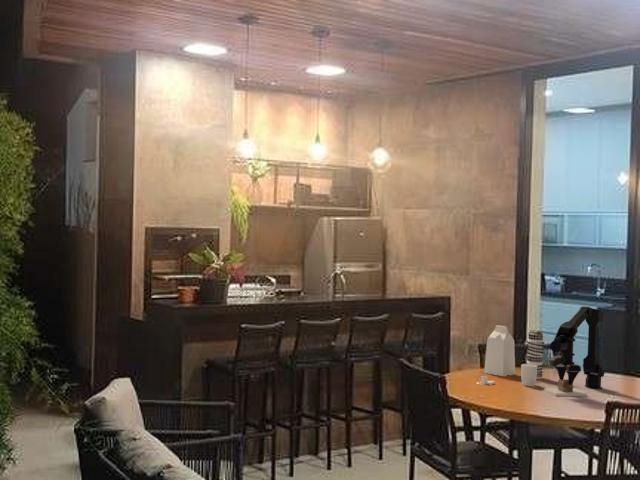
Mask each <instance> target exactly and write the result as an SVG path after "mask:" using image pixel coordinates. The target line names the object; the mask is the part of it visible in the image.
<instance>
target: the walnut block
mask: <svg viewBox="0 0 640 480" xmlns="http://www.w3.org/2000/svg"><path fill="white" fill-rule="evenodd" d="M557 383H558V385H557V388H558V390H560V391H562V392H573V388H574V382H573V383H572V385H569V382H568V379H563V380H560V379H559V378H558V382H557Z"/></svg>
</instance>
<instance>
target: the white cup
mask: <svg viewBox="0 0 640 480" xmlns="http://www.w3.org/2000/svg"><path fill="white" fill-rule="evenodd" d="M520 371H521V374H520V376H521V377H520V378H521V385H522V386H525V387H535V386H536V382H537V379H536V376H537V365H532V364H527V363H523V364H521V365H520Z"/></svg>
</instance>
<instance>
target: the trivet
mask: <svg viewBox="0 0 640 480" xmlns="http://www.w3.org/2000/svg"><path fill="white" fill-rule="evenodd" d="M544 392H546V393H548V394H550V395H552V396H555V397H587V396H588V393H587V392H585V391H583V390H580V389H578V388H575V387H573V392H562V391H560V390H558V387H557V388H555V387H554V388H553V387H549V388H548V387H546V388H544Z"/></svg>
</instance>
